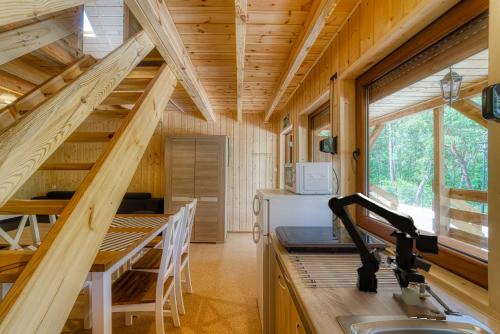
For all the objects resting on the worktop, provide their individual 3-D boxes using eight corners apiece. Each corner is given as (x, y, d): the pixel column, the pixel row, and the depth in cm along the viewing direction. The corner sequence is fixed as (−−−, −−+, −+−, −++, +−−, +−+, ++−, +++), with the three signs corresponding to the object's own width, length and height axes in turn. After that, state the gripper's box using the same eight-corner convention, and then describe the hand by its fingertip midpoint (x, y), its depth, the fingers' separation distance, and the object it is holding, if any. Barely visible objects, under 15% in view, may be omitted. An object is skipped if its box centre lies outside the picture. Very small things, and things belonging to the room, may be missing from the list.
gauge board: (408, 317, 84) (408, 297, 84) (392, 296, 98) (393, 279, 98) (446, 321, 82) (446, 301, 82) (425, 299, 96) (425, 282, 96)
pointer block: (406, 304, 89) (406, 292, 89) (401, 298, 93) (401, 287, 93) (432, 306, 88) (432, 295, 88) (426, 300, 92) (427, 289, 92)
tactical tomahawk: (469, 320, 85) (469, 317, 85) (445, 315, 87) (446, 312, 87) (439, 289, 105) (439, 287, 105) (421, 286, 107) (421, 283, 107)
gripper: (442, 260, 86) (441, 307, 86) (416, 243, 104) (415, 282, 105) (406, 257, 88) (405, 303, 88) (386, 241, 106) (385, 279, 106)
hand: (403, 291), depth 97 cm, fingers closed
